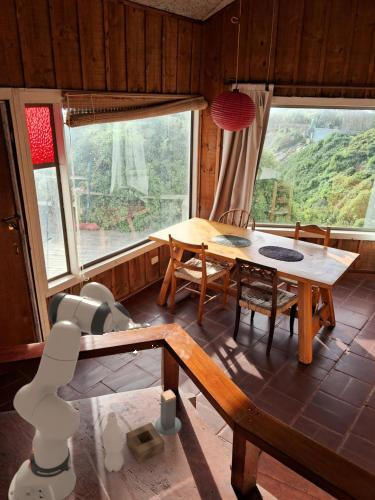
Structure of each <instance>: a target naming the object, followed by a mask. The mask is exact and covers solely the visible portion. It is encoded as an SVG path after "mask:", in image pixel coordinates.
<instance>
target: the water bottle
mask: <svg viewBox="0 0 375 500" xmlns="http://www.w3.org/2000/svg"><path fill="white" fill-rule="evenodd" d="M106 422H107V423H106V425H105V426H104V427H103V430H102V437H103V438H102V441H103V445H102V446H103V448H104V450H105V458H104V463H103V464H104V467H105V469H106V470H107V471H108V472H110V473H112V472H113V471H114V473H116V472H119V471H120V470H121V469H122V467H123V466H124V463H125V458H124V455H123V452H122V450H123V448H124V435H123V434H124V430H123V427H122V425H121V424H120V422H118V417H117V413H116V412H115V411H110V412H109V413H108V414H107V419H106Z"/></svg>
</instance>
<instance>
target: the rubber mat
mask: <svg viewBox="0 0 375 500" xmlns="http://www.w3.org/2000/svg"><path fill="white" fill-rule="evenodd" d="M181 422H182V421H181V420H180V419H179V418H178V417H176V416H175V427H173V428H171V429H169V430H167V431H165V429H164V428H163V426H162V425H161V424H160V423H161V416H160V417H159V418H157V419H156V421H155V424H154V427H155V429H156V430H157V432H158V433H159V434H160V435H163V436H173V435H176V434H178V432H180V430H181V428H182V423H181Z"/></svg>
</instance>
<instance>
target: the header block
mask: <svg viewBox="0 0 375 500" xmlns="http://www.w3.org/2000/svg"><path fill="white" fill-rule="evenodd" d="M125 436H126V437H125V441H126V445H127V447H128V448H129V450H130V451H131V453H132V455H133V456H134V458H135V460H136V461H137V463H138V464H140V463H142V462H145V461H147V460H148V459H151V458H152V457H154V456H156V455H159V454H161V453H163V452H165V440H164V438H163V437H162V436H161V434H160V433H159V432H158V431H157V430H156V428H155V425H154V424H153V423H152V422H149V423H147V424H144V425H141V426H139V427H137V428H134V429H132V430H131V431H128V432H126V433H125Z"/></svg>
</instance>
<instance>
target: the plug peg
mask: <svg viewBox="0 0 375 500" xmlns="http://www.w3.org/2000/svg"><path fill="white" fill-rule="evenodd" d="M176 400H177V395H175V393H174V392H173V391H172V390H171V389H168V390H166V391H163V392H161V393H160V417H161V423H160V424H161V425H162V426H163V428H164V429H165V431H167V430H169V429H171V428H173V427H175V417H176V409H177V401H176Z"/></svg>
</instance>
